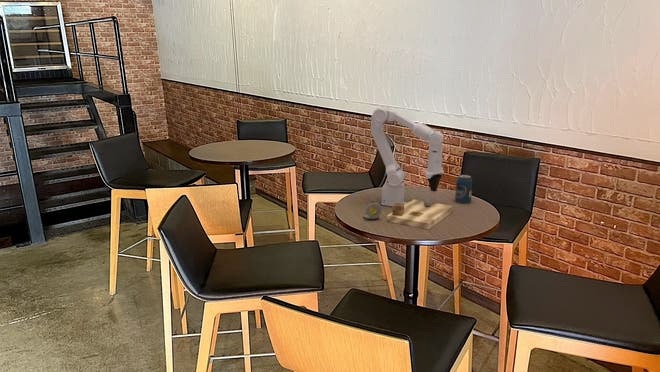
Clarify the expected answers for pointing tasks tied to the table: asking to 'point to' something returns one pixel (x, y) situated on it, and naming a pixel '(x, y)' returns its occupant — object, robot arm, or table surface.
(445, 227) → the table surface
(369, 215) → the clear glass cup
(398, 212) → the walnut cube
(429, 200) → the ball
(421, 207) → the deck
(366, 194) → the table surface
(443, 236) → the table surface
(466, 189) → the soda can
